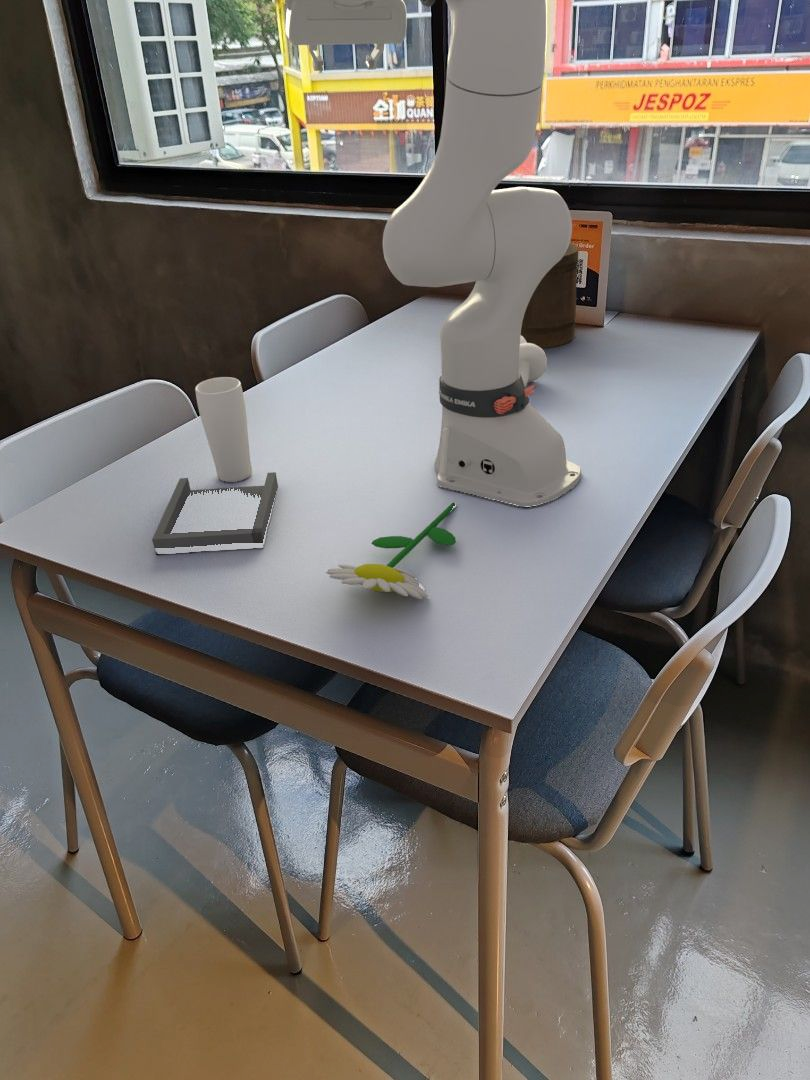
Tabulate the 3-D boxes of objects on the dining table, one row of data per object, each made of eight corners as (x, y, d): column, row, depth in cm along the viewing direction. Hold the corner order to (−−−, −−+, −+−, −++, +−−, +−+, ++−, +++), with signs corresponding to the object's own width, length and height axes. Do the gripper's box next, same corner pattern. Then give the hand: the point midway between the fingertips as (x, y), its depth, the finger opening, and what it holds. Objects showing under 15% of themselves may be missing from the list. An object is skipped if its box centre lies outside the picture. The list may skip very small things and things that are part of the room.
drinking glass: (253, 485, 125) (236, 392, 117) (209, 487, 125) (189, 395, 118) (260, 465, 131) (244, 375, 123) (218, 467, 131) (200, 377, 123)
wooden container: (585, 330, 176) (591, 222, 164) (557, 352, 166) (561, 239, 154) (521, 322, 183) (523, 218, 172) (491, 343, 173) (490, 234, 161)
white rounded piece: (544, 374, 156) (546, 328, 152) (547, 399, 146) (549, 350, 141) (484, 375, 158) (484, 329, 153) (483, 400, 148) (483, 352, 143)
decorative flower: (412, 514, 120) (305, 608, 95) (413, 483, 117) (304, 571, 93) (494, 533, 115) (405, 637, 90) (498, 502, 113) (407, 599, 88)
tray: (183, 492, 124) (179, 478, 123) (278, 486, 124) (275, 472, 123) (156, 555, 110) (152, 539, 109) (263, 548, 110) (260, 532, 108)
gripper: (288, -12, 128) (288, 79, 139) (414, -12, 133) (404, 76, 144) (280, -30, 131) (281, 60, 142) (403, -29, 136) (395, 58, 147)
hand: (344, 68), depth 143 cm, fingers open, 8 cm apart
